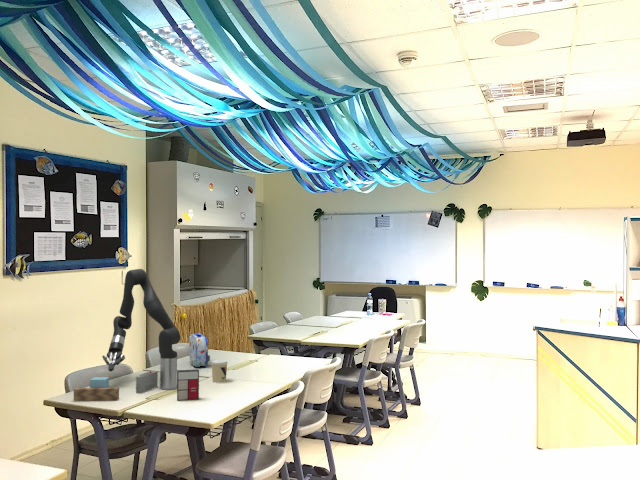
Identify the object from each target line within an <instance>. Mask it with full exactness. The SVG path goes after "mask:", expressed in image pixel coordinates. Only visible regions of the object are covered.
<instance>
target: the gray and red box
mask: <svg viewBox="0 0 640 480" xmlns="http://www.w3.org/2000/svg"><path fill="white" fill-rule="evenodd" d="M177 370H178V371H177V388H176V392H177V393H176V400H177V401H188V400H189V401H192V400H194V401H195V400H199V399H200V392H199V391H200V369H198V368H195V369H177Z"/></svg>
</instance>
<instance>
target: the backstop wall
mask: <svg viewBox="0 0 640 480" xmlns="http://www.w3.org/2000/svg"><path fill="white" fill-rule="evenodd" d="M119 399H120V387H109V388H90V387H75V388H74V389H73V402H99V401H100V402H104V401H105V402H107V401H108V402H109V401H110V402H111V401H115V402H116V401H119Z"/></svg>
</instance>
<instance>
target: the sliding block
mask: <svg viewBox="0 0 640 480" xmlns="http://www.w3.org/2000/svg"><path fill="white" fill-rule="evenodd" d="M89 388H110V376H98V377H97V376H93V377H92V378H91V379H89Z"/></svg>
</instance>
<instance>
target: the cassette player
mask: <svg viewBox="0 0 640 480" xmlns="http://www.w3.org/2000/svg"><path fill="white" fill-rule="evenodd" d="M158 373H159V371H158V370H148V371H146V372H142V373H139V374H138V376H137V375H136V379H135V382H136V383H135V384H136V385H135V393H136V394H143V393H145V391H146V392H147V391H148V392H149V391H150V390H152V389H156V388H158V375H159V374H158Z"/></svg>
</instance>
